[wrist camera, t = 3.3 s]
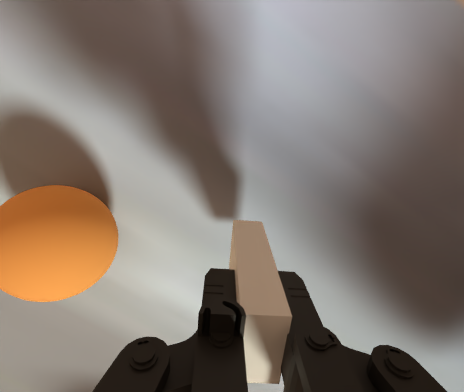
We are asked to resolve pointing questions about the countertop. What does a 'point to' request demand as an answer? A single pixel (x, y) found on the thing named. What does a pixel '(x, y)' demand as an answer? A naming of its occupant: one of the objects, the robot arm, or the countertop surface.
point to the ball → (54, 243)
